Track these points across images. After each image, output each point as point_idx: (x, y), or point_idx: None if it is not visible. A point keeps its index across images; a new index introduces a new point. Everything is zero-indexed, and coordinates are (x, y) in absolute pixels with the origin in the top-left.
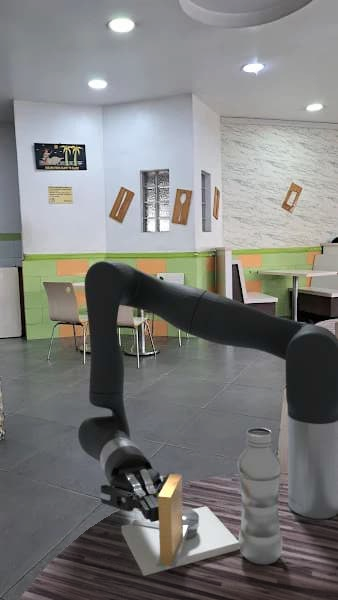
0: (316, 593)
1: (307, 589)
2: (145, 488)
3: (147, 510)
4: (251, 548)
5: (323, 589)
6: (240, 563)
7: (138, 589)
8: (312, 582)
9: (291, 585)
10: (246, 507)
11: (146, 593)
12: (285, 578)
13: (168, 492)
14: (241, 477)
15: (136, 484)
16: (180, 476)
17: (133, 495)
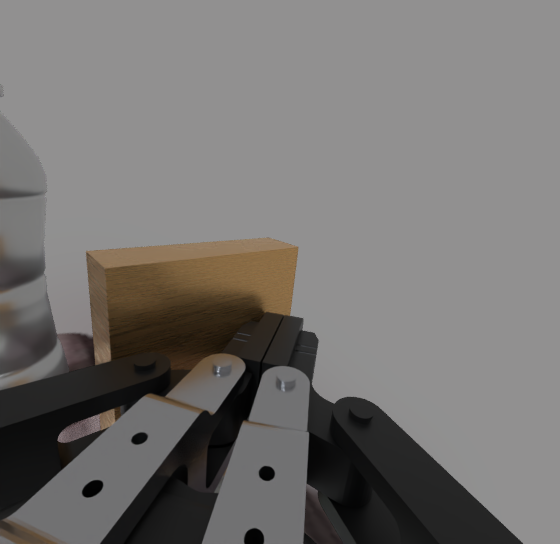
0: (91, 337)
1: (88, 344)
2: (201, 445)
3: (312, 333)
4: (65, 368)
5: (76, 335)
6: (60, 433)
7: (327, 519)
8: (64, 346)
9: (90, 357)
10: (36, 288)
11: (314, 492)
12: (74, 367)
13: (256, 242)
14: (24, 202)
15: (272, 434)
16: (111, 249)
17: (321, 436)
